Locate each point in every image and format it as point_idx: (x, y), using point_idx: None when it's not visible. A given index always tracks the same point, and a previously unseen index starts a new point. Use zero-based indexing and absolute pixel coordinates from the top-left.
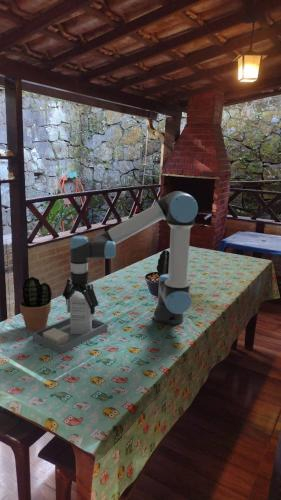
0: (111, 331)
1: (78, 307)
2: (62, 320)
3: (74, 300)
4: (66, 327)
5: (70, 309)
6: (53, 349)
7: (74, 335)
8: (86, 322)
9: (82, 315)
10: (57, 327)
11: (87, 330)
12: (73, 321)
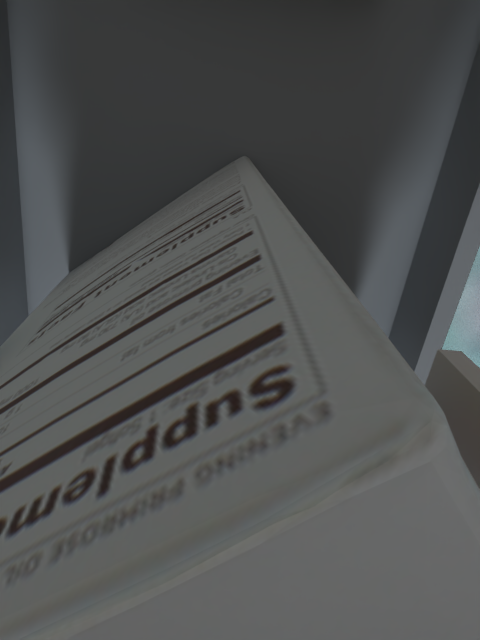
0: None
1: (71, 372)
2: (464, 279)
3: (147, 521)
4: (378, 259)
5: (287, 221)
6: None
7: (189, 158)
8: (52, 303)
9: (61, 320)
10: (454, 168)
11: (77, 270)
12: (213, 200)
